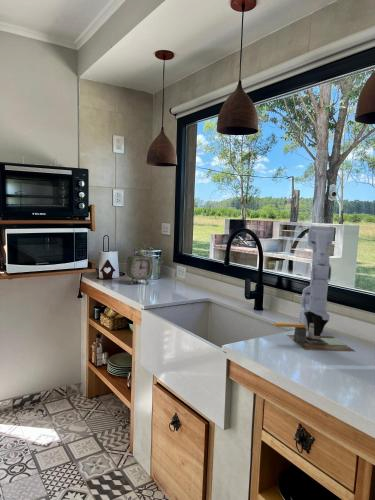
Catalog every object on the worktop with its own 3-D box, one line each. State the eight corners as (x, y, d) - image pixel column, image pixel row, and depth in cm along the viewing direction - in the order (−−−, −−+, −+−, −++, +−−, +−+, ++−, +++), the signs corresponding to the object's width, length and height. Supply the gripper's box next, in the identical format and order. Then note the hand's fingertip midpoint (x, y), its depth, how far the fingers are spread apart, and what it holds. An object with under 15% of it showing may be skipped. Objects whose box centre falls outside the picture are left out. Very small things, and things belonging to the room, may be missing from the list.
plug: (306, 335, 137) (307, 322, 137) (316, 335, 138) (317, 322, 137) (311, 339, 133) (312, 325, 133) (321, 339, 134) (323, 326, 133)
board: (286, 337, 143) (288, 321, 142) (331, 338, 145) (333, 322, 145) (304, 352, 127) (306, 334, 126) (355, 354, 130) (357, 336, 129)
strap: (274, 324, 134) (274, 322, 134) (303, 326, 136) (304, 323, 136) (276, 326, 132) (276, 323, 132) (306, 327, 134) (306, 325, 134)
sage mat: (319, 338, 141) (319, 337, 141) (336, 339, 142) (336, 338, 142) (329, 345, 134) (329, 344, 134) (347, 345, 135) (347, 344, 135)
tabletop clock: (129, 285, 220) (131, 243, 217) (124, 282, 227) (126, 242, 225) (151, 284, 227) (154, 244, 224) (145, 282, 235) (148, 243, 232)
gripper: (299, 292, 141) (295, 327, 142) (317, 301, 126) (313, 340, 128) (316, 293, 142) (312, 327, 143) (336, 302, 127) (332, 340, 129)
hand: (314, 333), depth 135 cm, fingers closed on plug, 4 cm apart
